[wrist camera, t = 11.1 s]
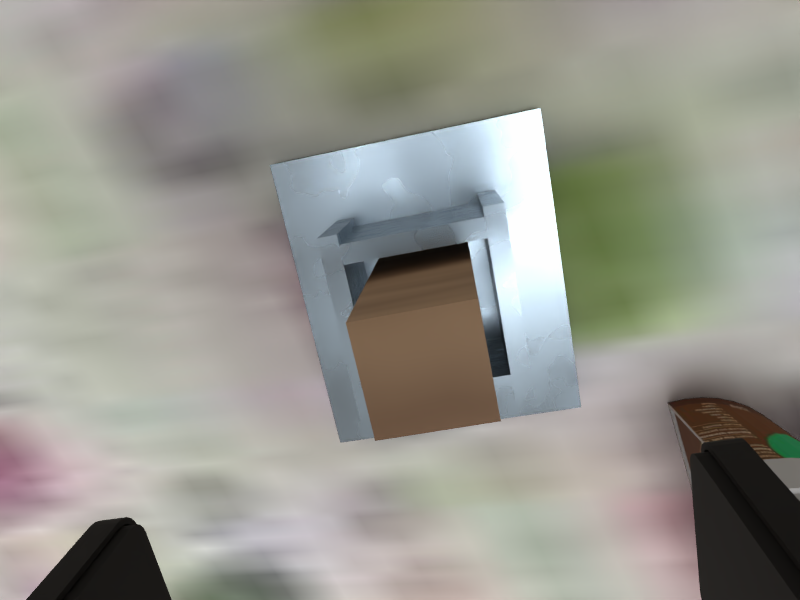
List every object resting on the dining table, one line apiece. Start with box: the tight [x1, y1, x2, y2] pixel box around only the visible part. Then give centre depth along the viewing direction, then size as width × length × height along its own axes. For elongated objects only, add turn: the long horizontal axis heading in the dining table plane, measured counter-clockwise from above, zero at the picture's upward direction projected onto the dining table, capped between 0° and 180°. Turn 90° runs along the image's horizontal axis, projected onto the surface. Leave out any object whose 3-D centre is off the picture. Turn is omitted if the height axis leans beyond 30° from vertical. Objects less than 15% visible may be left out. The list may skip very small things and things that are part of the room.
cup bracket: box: [270, 108, 581, 443], centre depth 26 cm, size 14×12×5 cm
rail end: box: [346, 242, 501, 441], centre depth 23 cm, size 4×4×10 cm
